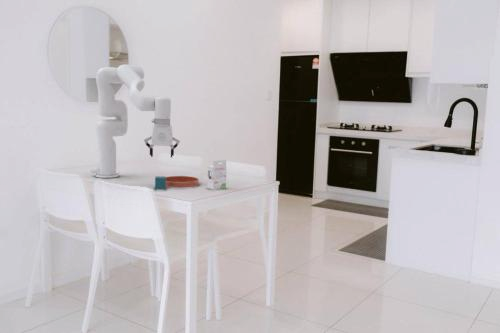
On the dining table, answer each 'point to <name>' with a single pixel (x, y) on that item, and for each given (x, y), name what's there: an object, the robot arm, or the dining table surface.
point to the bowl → (181, 181)
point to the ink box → (217, 175)
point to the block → (160, 182)
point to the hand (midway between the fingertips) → (161, 156)
